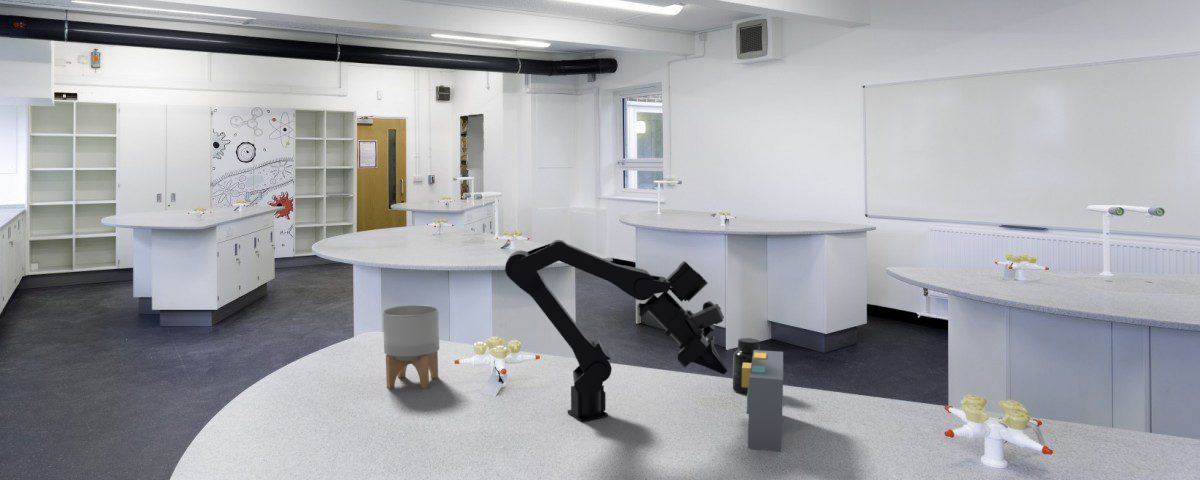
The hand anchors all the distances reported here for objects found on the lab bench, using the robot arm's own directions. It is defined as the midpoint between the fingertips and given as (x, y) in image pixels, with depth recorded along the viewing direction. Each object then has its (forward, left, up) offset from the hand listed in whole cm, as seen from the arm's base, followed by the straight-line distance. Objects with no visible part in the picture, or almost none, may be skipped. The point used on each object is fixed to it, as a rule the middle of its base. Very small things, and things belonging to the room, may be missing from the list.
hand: (725, 372), depth 146 cm
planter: (-49, +58, -10) cm, 77 cm away
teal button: (-2, -12, -4) cm, 13 cm away
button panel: (+2, -9, -10) cm, 13 cm away
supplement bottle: (+16, +11, -10) cm, 22 cm away
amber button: (+4, -4, -2) cm, 6 cm away
